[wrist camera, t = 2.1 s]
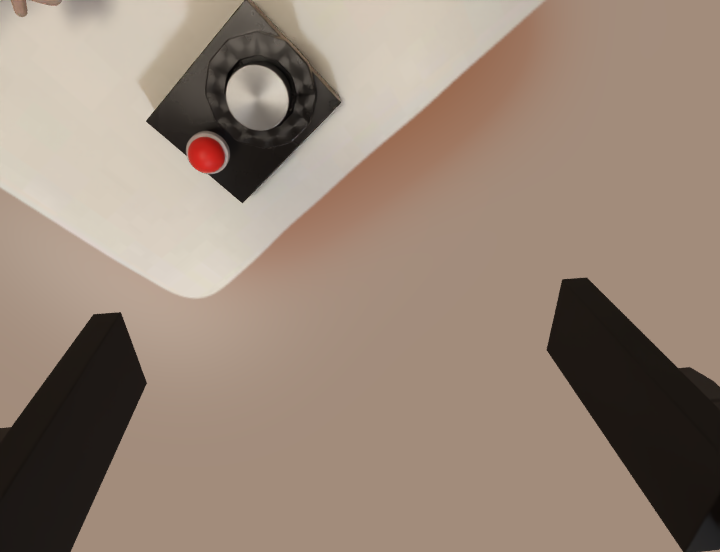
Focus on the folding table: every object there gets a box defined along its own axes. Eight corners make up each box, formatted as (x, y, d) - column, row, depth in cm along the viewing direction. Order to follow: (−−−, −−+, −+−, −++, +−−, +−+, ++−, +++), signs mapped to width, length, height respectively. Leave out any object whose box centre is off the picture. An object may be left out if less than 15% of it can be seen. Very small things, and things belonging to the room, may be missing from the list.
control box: (253, -4, 28) (243, -6, 25) (342, 94, 32) (345, 105, 28) (156, 114, 32) (135, 127, 28) (246, 192, 35) (238, 213, 31)
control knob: (258, 46, 27) (253, 49, 25) (303, 94, 28) (302, 99, 26) (219, 92, 28) (212, 97, 26) (264, 135, 29) (260, 143, 27)
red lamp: (225, 127, 29) (218, 136, 27) (234, 168, 30) (228, 178, 28) (184, 131, 29) (174, 140, 27) (195, 171, 30) (186, 182, 28)
